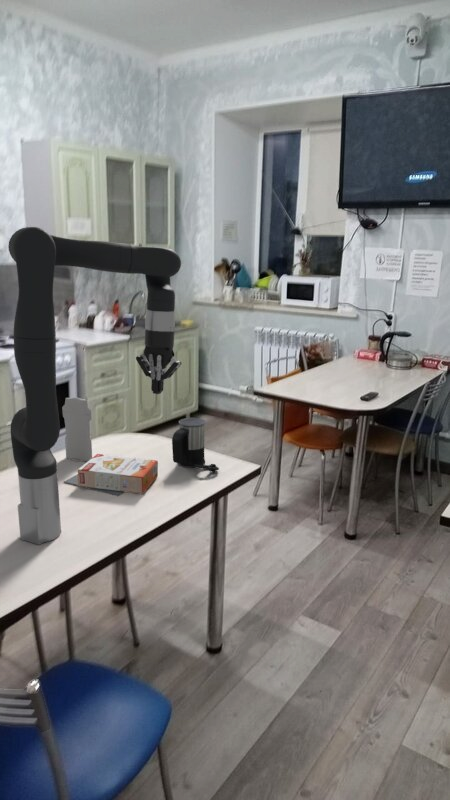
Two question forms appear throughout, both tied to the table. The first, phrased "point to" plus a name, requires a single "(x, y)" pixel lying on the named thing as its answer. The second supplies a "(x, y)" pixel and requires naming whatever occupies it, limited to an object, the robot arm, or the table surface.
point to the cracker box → (118, 473)
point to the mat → (74, 481)
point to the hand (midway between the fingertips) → (157, 393)
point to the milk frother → (190, 444)
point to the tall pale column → (77, 429)
